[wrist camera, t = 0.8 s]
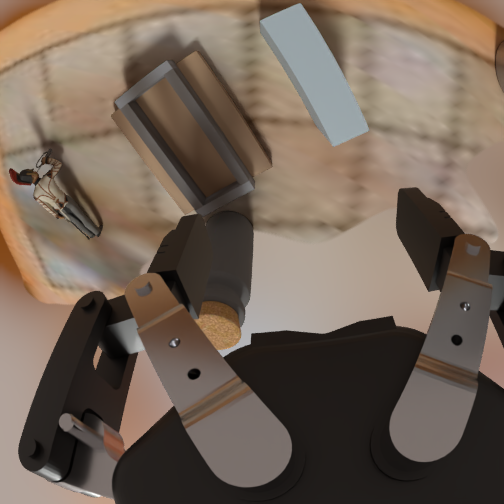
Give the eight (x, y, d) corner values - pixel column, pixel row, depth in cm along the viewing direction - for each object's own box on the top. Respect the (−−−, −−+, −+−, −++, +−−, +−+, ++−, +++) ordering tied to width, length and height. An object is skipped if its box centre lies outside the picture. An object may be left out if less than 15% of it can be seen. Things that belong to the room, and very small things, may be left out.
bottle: (223, 259, 37) (206, 360, 25) (194, 225, 35) (161, 323, 22) (263, 239, 35) (262, 342, 23) (236, 201, 33) (219, 299, 21)
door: (290, 19, 21) (300, 2, 14) (343, 112, 26) (369, 130, 20) (260, 32, 22) (259, 20, 15) (315, 125, 27) (333, 146, 21)
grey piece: (195, 47, 23) (188, 45, 20) (274, 167, 30) (275, 178, 27) (112, 110, 26) (98, 116, 24) (190, 212, 34) (183, 227, 31)
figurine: (112, 205, 37) (37, 135, 27) (119, 210, 34) (37, 133, 24) (86, 239, 36) (7, 172, 25) (91, 248, 33) (4, 175, 23)
